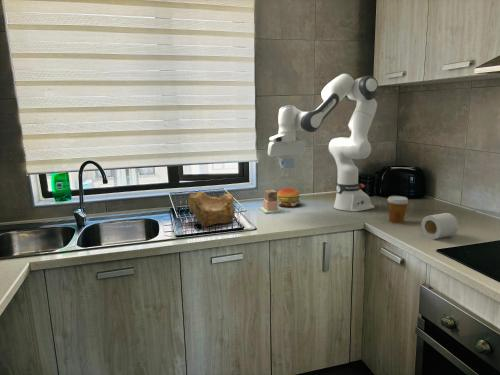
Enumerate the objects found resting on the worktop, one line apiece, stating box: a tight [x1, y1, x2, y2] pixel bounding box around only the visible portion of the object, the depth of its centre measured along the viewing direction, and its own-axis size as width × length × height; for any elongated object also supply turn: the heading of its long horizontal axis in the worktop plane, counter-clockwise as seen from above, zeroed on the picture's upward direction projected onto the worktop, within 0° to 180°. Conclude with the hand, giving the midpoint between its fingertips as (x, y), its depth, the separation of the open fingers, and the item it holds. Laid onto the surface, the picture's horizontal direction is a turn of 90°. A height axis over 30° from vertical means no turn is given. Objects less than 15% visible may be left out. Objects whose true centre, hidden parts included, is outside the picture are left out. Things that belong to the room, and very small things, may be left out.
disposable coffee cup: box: [386, 195, 409, 224], centre depth 179 cm, size 10×10×12 cm
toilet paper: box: [420, 212, 459, 240], centre depth 158 cm, size 10×10×10 cm
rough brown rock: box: [187, 191, 235, 228], centre depth 180 cm, size 23×17×15 cm
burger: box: [277, 187, 301, 208], centre depth 213 cm, size 13×14×10 cm
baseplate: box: [258, 206, 284, 215], centre depth 203 cm, size 10×10×1 cm
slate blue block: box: [280, 157, 295, 169], centre depth 191 cm, size 5×6×5 cm
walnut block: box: [263, 189, 278, 202], centre depth 201 cm, size 5×6×5 cm
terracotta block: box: [263, 198, 279, 211], centre depth 202 cm, size 6×6×5 cm
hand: (286, 164), depth 192 cm, fingers closed on slate blue block, 5 cm apart
